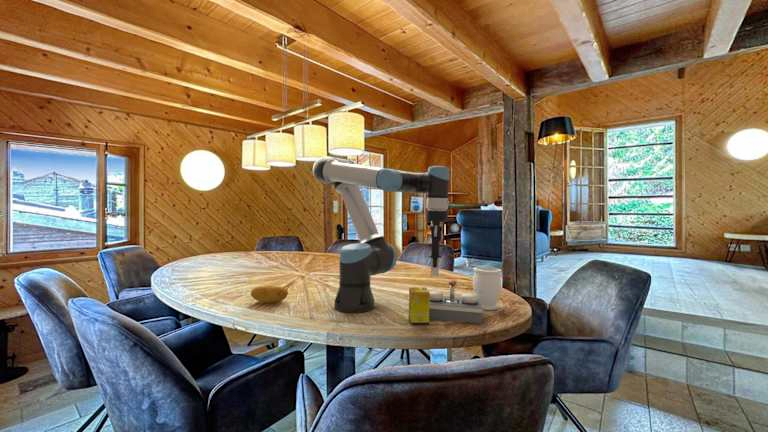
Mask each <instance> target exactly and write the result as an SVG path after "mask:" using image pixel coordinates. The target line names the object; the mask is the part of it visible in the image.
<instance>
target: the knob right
mask: <svg viewBox="0 0 768 432" xmlns="http://www.w3.org/2000/svg"><path fill="white" fill-rule="evenodd" d="M460 297H461V301H462V302H464V304H470V305H475V303H477V302H478V295H476V294H474V293H471V292H470V293H469V292H466V293H464V292H463V293H462V294H461V295H460Z"/></svg>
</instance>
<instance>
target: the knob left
mask: <svg viewBox="0 0 768 432" xmlns="http://www.w3.org/2000/svg"><path fill="white" fill-rule="evenodd" d="M428 291H429V292H430V301H432V302H440V300H443V296H444V292H442V291H438V290H428Z"/></svg>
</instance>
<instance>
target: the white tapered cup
mask: <svg viewBox="0 0 768 432" xmlns="http://www.w3.org/2000/svg"><path fill="white" fill-rule="evenodd" d="M472 270H473V273H474V274H473V279H472V288H473V294H476V295H478V299H480V301H481V304H482V308H483V311H486V310H487V311H495V310H497V309H498V305H497V304H498V302H499V299H500V294H501V288H502V279H501V273H502V269H500V268H497V267H494V266H493V267H492V266H483V265H482V266H480V265H479V266H474V267H473V269H472Z"/></svg>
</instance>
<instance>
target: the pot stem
mask: <svg viewBox="0 0 768 432" xmlns="http://www.w3.org/2000/svg"><path fill="white" fill-rule="evenodd" d="M447 284H448V285H449V296H450V299H449V300H446V303H457V304H458V301H457V300H454V297H455V291H456V289H455V287H456V286H457V284H458V283H457V280H455V279H454V280H453V279H449V280H448V283H447Z"/></svg>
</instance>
